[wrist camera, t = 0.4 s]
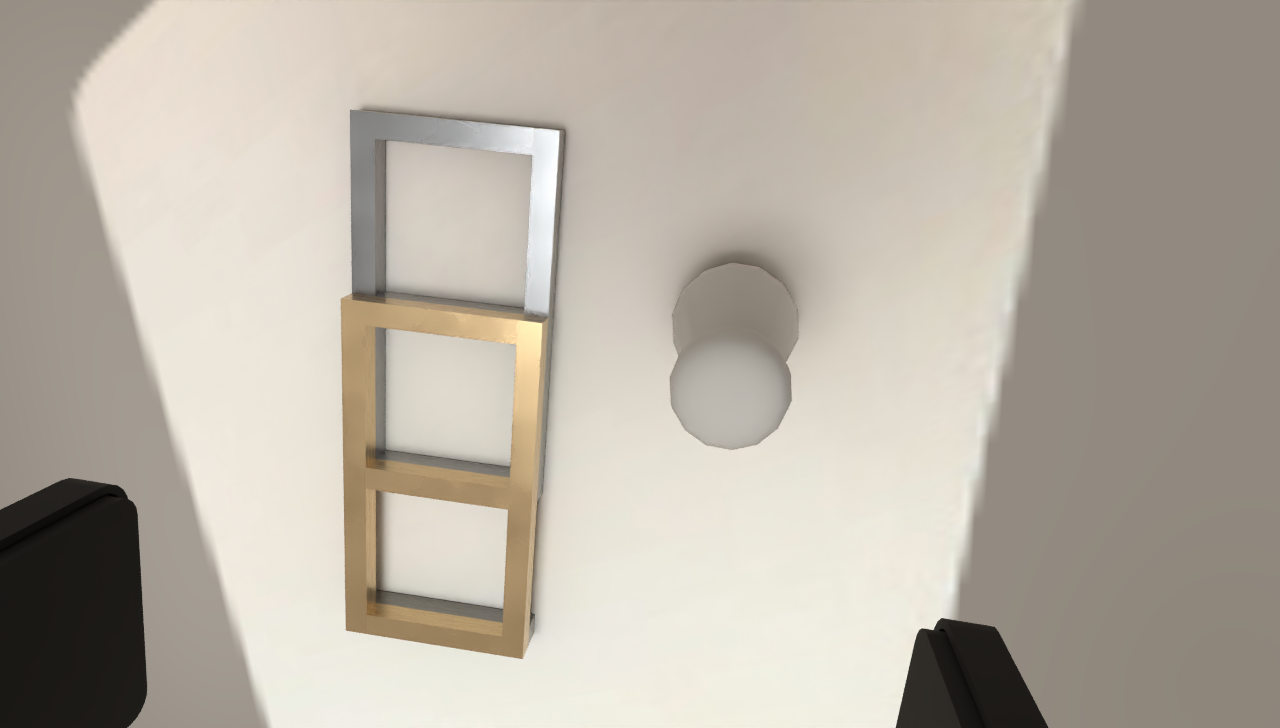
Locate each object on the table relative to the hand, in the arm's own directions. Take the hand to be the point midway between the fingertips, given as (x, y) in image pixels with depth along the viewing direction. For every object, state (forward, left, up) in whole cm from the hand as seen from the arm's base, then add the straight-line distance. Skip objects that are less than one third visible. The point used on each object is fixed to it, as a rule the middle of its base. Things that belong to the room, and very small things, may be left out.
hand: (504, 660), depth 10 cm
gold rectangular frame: (+13, -11, -32) cm, 36 cm away
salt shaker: (+3, +3, -32) cm, 32 cm away
